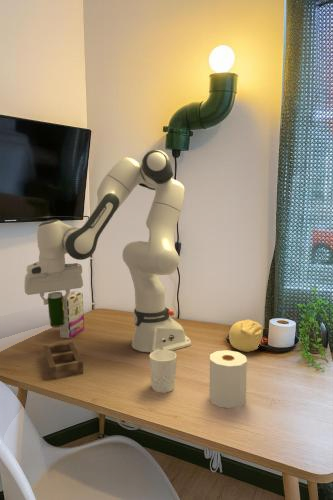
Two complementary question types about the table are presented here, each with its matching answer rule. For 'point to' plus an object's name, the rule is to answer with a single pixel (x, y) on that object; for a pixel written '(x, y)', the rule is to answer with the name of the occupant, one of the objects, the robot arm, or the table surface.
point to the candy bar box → (73, 315)
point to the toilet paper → (228, 378)
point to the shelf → (63, 360)
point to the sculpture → (246, 335)
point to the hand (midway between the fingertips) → (55, 302)
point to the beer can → (56, 309)
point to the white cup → (163, 370)
